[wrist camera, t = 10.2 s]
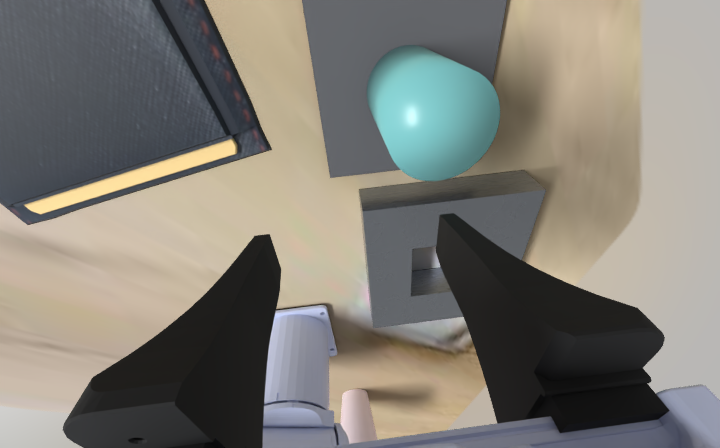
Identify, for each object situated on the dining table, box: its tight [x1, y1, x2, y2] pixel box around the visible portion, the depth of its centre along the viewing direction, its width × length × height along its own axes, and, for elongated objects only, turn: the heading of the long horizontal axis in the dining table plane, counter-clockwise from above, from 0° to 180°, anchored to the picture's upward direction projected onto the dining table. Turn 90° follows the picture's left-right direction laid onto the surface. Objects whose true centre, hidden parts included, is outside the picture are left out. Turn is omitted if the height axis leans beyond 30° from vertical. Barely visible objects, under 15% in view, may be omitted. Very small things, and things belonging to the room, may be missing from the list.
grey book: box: [0, 0, 271, 225], centre depth 17 cm, size 20×2×15 cm
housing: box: [359, 170, 546, 328], centre depth 26 cm, size 14×13×3 cm
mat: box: [302, 0, 507, 178], centre depth 19 cm, size 11×11×1 cm
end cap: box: [367, 45, 500, 181], centre depth 16 cm, size 5×5×7 cm
